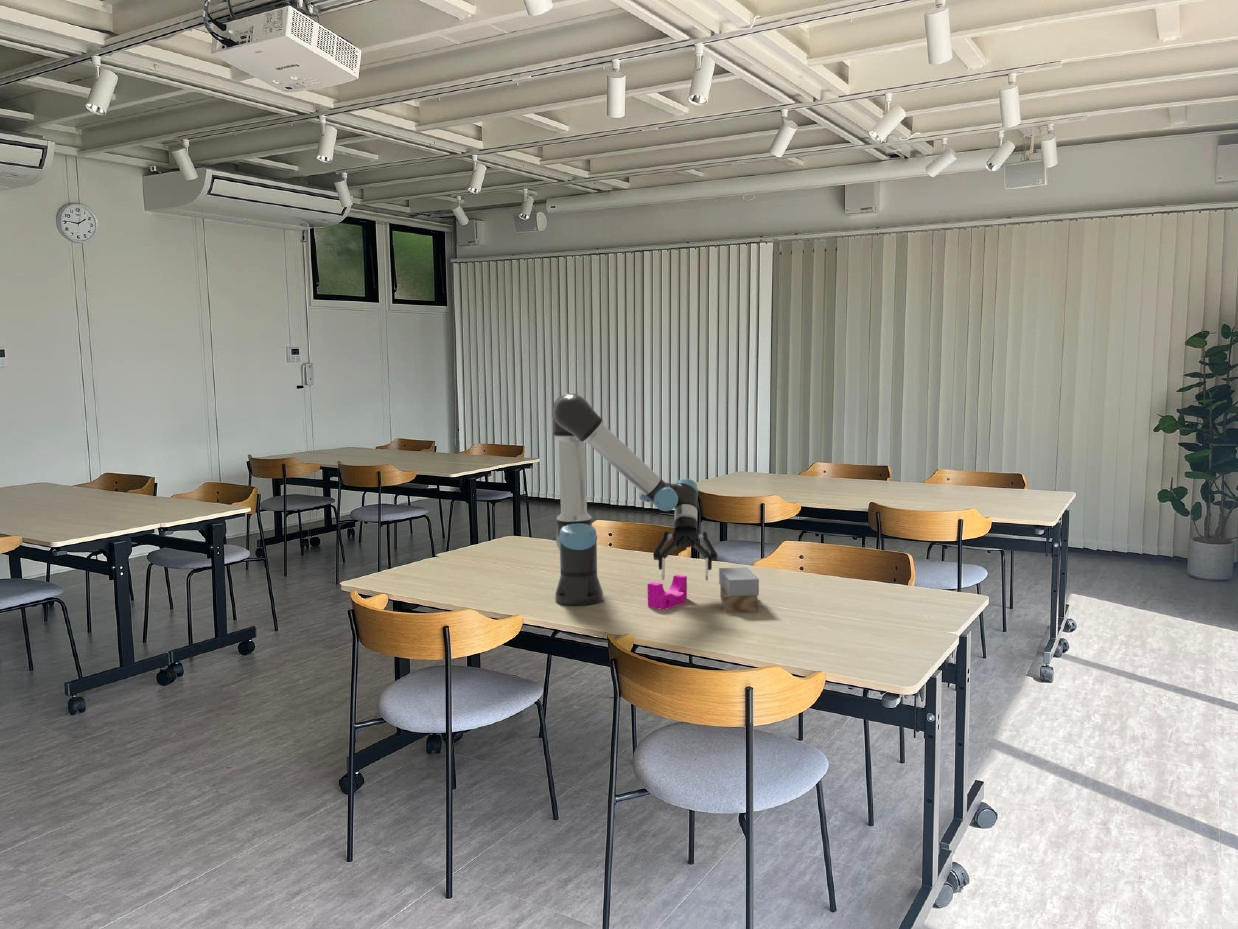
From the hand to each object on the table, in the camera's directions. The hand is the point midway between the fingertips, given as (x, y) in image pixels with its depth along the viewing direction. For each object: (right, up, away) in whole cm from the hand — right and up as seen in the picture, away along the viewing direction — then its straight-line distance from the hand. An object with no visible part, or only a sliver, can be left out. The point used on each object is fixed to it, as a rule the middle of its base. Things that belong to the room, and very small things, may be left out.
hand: (684, 578), depth 286 cm
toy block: (-5, -8, -1) cm, 9 cm away
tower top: (+16, -3, -4) cm, 17 cm away
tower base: (+16, -8, -3) cm, 18 cm away
